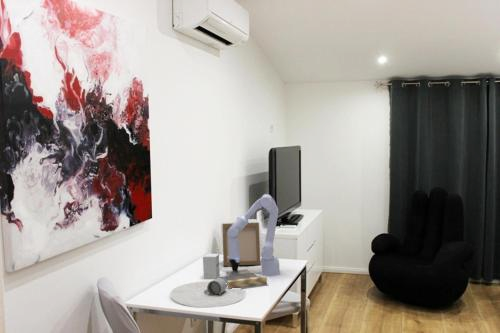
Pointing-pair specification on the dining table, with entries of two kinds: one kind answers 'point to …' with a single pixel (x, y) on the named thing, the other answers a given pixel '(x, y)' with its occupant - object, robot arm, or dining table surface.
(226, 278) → the bench mat
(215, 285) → the ceramic mug
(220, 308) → the dining table surface
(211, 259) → the supplement box
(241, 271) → the grey flat piece
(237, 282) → the bench fence
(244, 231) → the photo frame
